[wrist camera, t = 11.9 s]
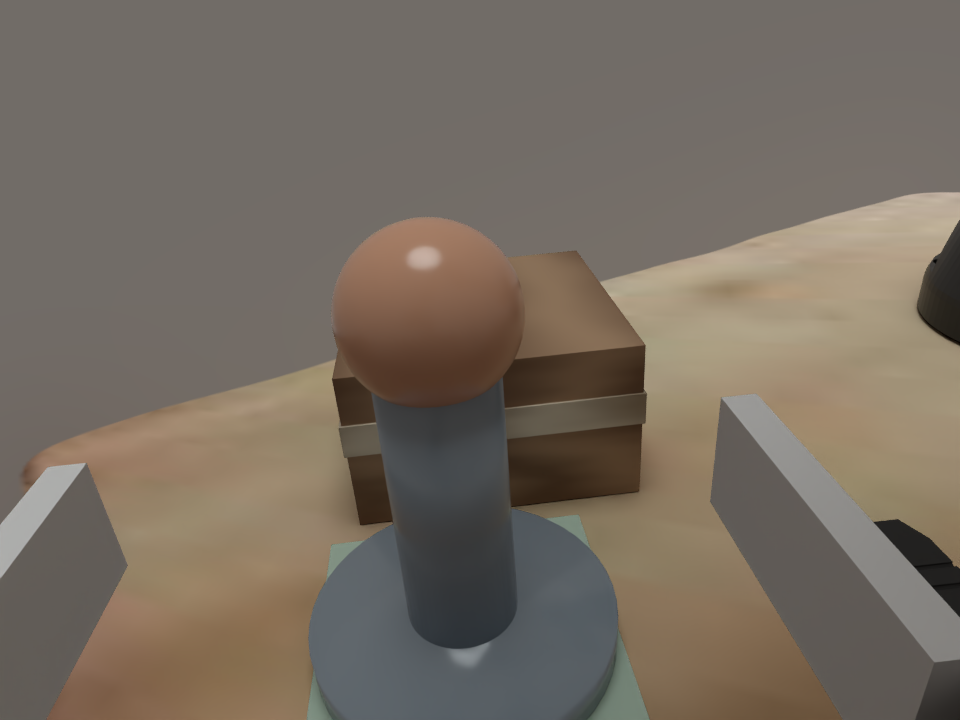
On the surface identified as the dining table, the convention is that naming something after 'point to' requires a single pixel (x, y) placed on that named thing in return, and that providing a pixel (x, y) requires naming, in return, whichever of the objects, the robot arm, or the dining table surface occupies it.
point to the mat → (622, 703)
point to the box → (539, 396)
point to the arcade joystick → (452, 508)
